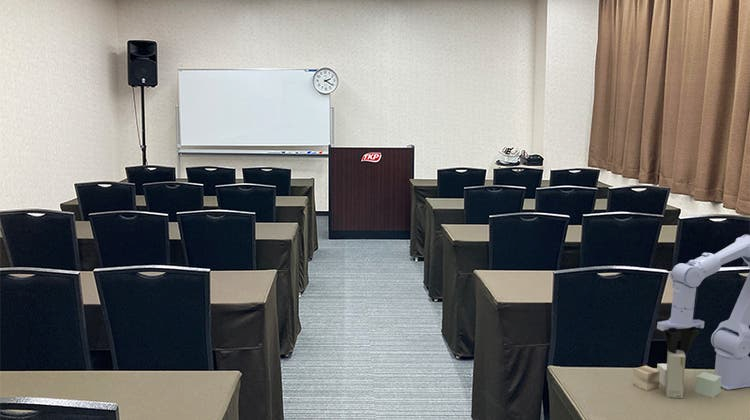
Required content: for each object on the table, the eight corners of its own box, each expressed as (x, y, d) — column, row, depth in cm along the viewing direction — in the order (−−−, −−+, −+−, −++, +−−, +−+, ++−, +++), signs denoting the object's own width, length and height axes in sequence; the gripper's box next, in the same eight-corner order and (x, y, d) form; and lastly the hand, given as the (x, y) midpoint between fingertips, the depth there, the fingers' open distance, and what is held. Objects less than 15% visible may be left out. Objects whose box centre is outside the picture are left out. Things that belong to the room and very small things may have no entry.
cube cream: (672, 379, 213) (673, 363, 212) (680, 386, 208) (681, 369, 207) (656, 379, 213) (657, 363, 212) (663, 386, 208) (665, 370, 207)
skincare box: (683, 399, 199) (686, 357, 197) (666, 397, 200) (669, 355, 198) (681, 390, 205) (684, 349, 203) (665, 388, 206) (667, 348, 204)
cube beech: (644, 381, 211) (645, 365, 211) (658, 387, 207) (659, 371, 206) (632, 384, 209) (633, 368, 208) (646, 390, 205) (647, 374, 204)
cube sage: (702, 388, 207) (703, 371, 206) (720, 393, 203) (721, 376, 202) (694, 392, 203) (696, 376, 203) (713, 398, 200) (714, 381, 199)
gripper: (693, 301, 206) (688, 347, 208) (651, 303, 202) (647, 350, 204) (711, 308, 200) (706, 355, 202) (669, 310, 195) (663, 358, 197)
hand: (677, 353), depth 202 cm, fingers closed on skincare box, 4 cm apart
